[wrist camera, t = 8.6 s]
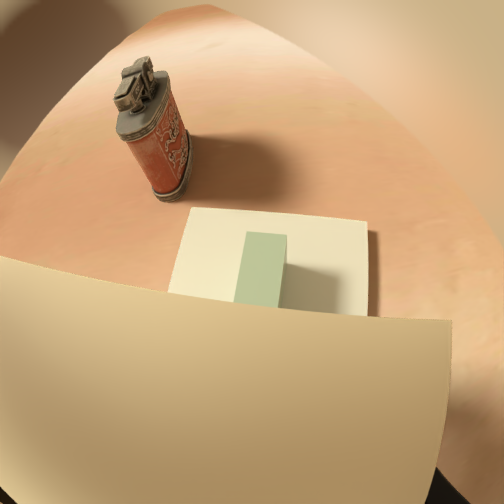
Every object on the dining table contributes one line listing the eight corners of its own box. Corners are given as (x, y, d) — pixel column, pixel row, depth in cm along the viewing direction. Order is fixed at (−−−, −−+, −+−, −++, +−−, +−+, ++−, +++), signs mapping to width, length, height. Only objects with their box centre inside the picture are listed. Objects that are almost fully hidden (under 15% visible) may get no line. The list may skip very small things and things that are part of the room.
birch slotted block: (307, 443, 11) (369, 607, 1) (176, 420, 13) (-33, 448, 2) (319, 369, 13) (451, 320, 2) (189, 350, 14) (-5, 254, 3)
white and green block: (333, 499, 11) (347, 532, 7) (142, 463, 13) (104, 480, 9) (363, 228, 18) (380, 189, 14) (195, 214, 20) (175, 175, 16)
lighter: (162, 138, 25) (125, 54, 16) (196, 131, 25) (165, 41, 16) (150, 205, 21) (89, 110, 12) (190, 198, 21) (140, 92, 12)
